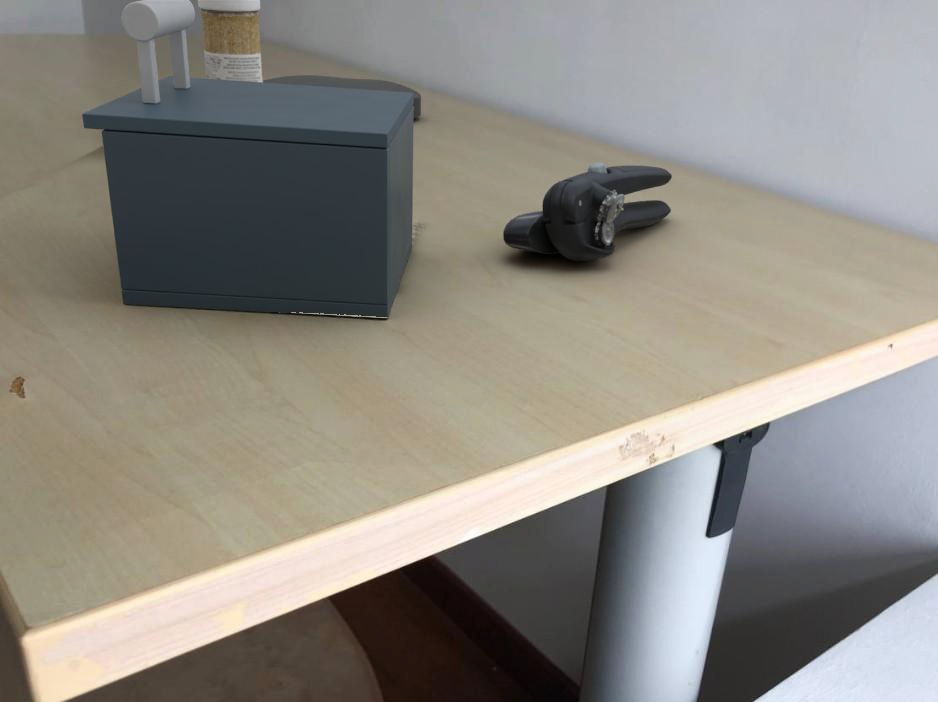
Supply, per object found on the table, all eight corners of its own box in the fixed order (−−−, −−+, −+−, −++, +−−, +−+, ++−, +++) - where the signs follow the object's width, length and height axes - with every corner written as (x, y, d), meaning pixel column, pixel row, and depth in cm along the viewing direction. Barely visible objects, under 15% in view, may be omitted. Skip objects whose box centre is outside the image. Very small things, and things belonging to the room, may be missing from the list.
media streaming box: (353, 97, 111) (353, 69, 110) (436, 120, 102) (437, 90, 101) (236, 106, 101) (234, 75, 100) (315, 132, 92) (314, 99, 91)
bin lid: (83, 128, 47) (66, 4, 44) (169, 88, 58) (159, -13, 56) (387, 148, 47) (387, 26, 45) (413, 104, 59) (414, 5, 56)
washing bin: (122, 304, 51) (100, 130, 47) (195, 234, 62) (182, 90, 58) (387, 319, 51) (387, 149, 47) (412, 247, 62) (413, 105, 59)
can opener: (584, 284, 58) (593, 190, 56) (488, 258, 62) (492, 168, 59) (706, 225, 72) (717, 148, 70) (622, 207, 75) (630, 132, 73)
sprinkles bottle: (265, 152, 83) (255, -19, 78) (271, 165, 80) (262, -15, 74) (208, 153, 82) (194, -22, 76) (212, 165, 78) (198, -18, 72)
